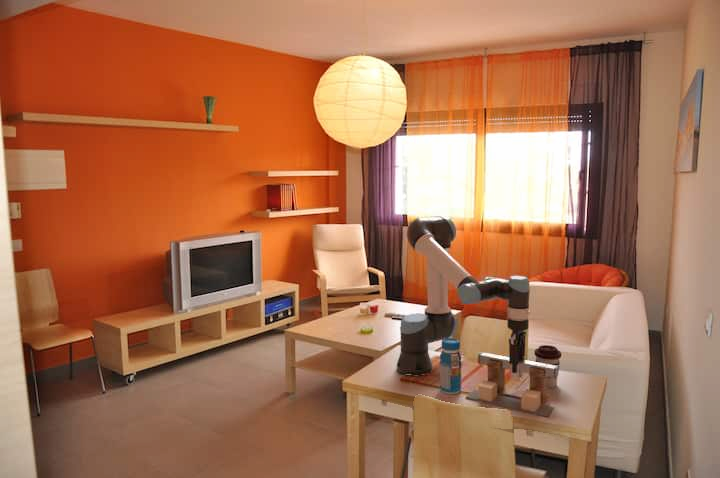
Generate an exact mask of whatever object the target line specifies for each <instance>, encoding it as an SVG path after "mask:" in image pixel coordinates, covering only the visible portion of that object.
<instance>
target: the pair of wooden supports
mask: <svg viewBox="0 0 720 478" xmlns="http://www.w3.org/2000/svg"><path fill="white" fill-rule="evenodd" d="M486 367H487V381H490V382H495V383H497V395H500V394H501V396H504V395H505V397H509V396H510V398H513V397H514V398H515V399H519V400H521V396H522V394H523V393H524V392H525V390H522V389H521V390H520V389H515V388H511V387H506V385H505V383H506V377H505V376H506V373H505V372H506V369H504V368H501V362H496V361H491V360H488V361H487V365H486ZM528 375H529V386H528V387H529V390H533V391H538V392H541V397H540V404H542V405H545V404H546V402H547V401H548V400H549V395H547V394H548V387H547V377H545V376H544V370H539V369H534V368H530V369H529V373H528Z"/></svg>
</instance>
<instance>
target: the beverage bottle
mask: <svg viewBox="0 0 720 478" xmlns="http://www.w3.org/2000/svg"><path fill="white" fill-rule="evenodd" d="M460 344H461V343H460V340H459V339H457V338H454V337H449V338H445V339H443V340H441V349H442V350H441V353H440V355H439V360H440V361H439V364H438V366H439V390H440V392H442V393H444V394H448V395H455V394H459V393H461V391H462V365H463V364H462V356H461V352H460V351H459V350H460V349H461V348H460Z"/></svg>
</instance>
